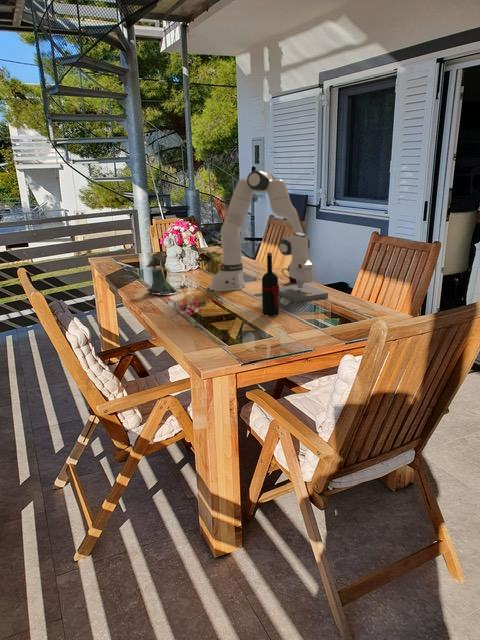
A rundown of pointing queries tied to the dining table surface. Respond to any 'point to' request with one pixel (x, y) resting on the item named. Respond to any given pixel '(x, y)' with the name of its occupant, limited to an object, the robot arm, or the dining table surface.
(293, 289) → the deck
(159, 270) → the tree stump
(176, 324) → the dining table surface
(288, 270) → the coffee mug
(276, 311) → the wine bottle
